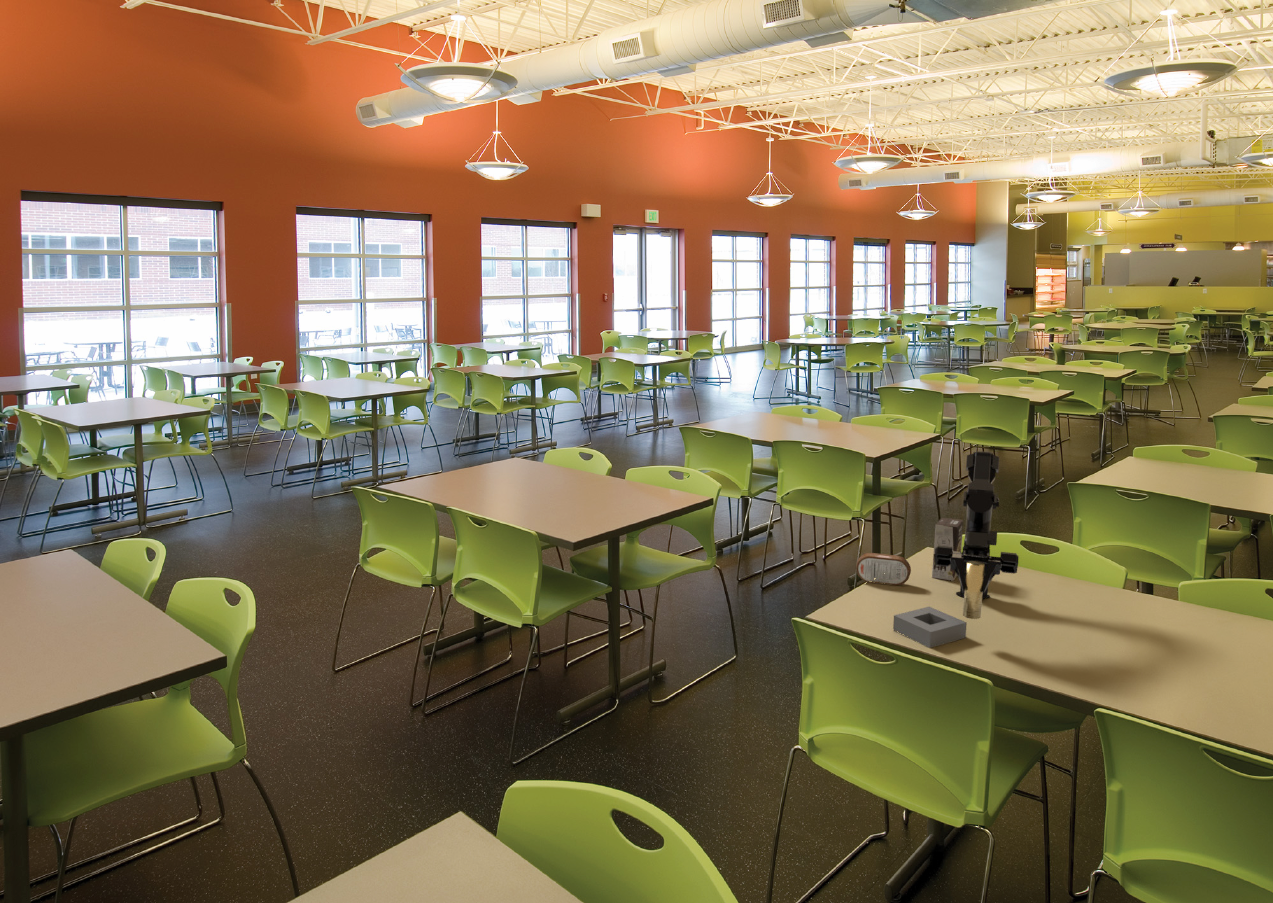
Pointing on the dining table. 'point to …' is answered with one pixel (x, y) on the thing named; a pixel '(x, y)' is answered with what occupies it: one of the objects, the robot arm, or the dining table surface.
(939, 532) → the coffee box
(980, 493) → the robot arm
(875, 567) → the tin
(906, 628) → the dock block
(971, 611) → the peg
